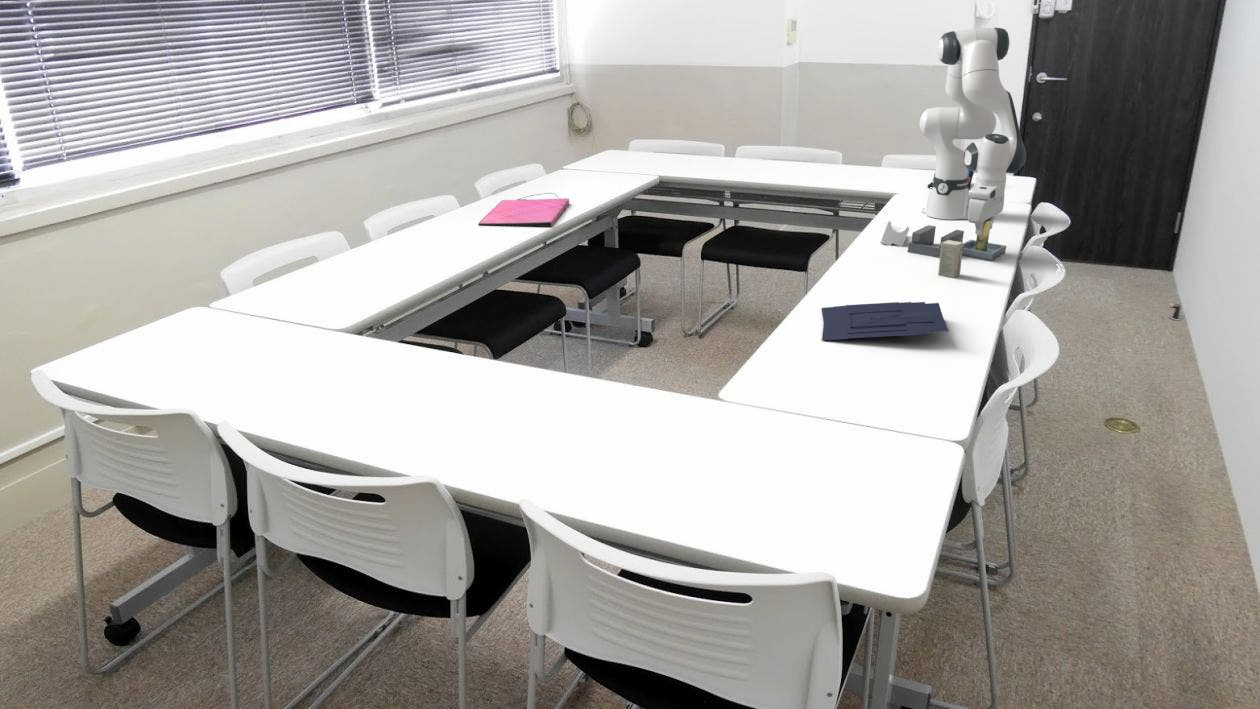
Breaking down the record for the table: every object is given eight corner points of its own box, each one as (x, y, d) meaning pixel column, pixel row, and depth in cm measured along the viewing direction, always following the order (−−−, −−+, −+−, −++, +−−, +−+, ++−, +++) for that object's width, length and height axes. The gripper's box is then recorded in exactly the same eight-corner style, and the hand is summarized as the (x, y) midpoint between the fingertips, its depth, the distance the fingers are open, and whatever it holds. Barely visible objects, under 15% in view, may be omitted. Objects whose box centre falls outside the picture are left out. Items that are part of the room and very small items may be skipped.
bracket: (901, 249, 303) (909, 228, 300) (880, 242, 304) (888, 221, 301) (901, 238, 315) (909, 218, 311) (881, 232, 316) (889, 211, 313)
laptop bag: (551, 218, 328) (477, 218, 332) (551, 228, 330) (478, 229, 333) (571, 192, 365) (504, 192, 368) (571, 202, 366) (505, 202, 370)
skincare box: (960, 275, 273) (964, 242, 270) (953, 278, 271) (957, 245, 267) (944, 271, 277) (948, 239, 273) (937, 274, 274) (941, 242, 270)
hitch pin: (977, 249, 295) (982, 212, 291) (988, 251, 293) (993, 214, 288) (972, 251, 293) (978, 215, 288) (984, 253, 291) (989, 216, 286)
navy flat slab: (949, 344, 220) (949, 330, 219) (822, 350, 227) (821, 337, 226) (937, 310, 242) (937, 297, 241) (822, 316, 249) (821, 304, 248)
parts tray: (969, 247, 301) (970, 239, 300) (1005, 253, 294) (1006, 245, 293) (955, 254, 293) (956, 247, 292) (991, 261, 286) (992, 253, 285)
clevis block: (926, 242, 306) (928, 225, 304) (961, 248, 299) (963, 231, 296) (907, 252, 296) (909, 234, 294) (943, 258, 289) (945, 240, 287)
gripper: (992, 181, 294) (986, 223, 299) (966, 192, 280) (961, 236, 285) (1012, 183, 290) (1005, 226, 296) (987, 195, 276) (981, 240, 281)
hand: (983, 231), depth 290 cm, fingers open, 6 cm apart
